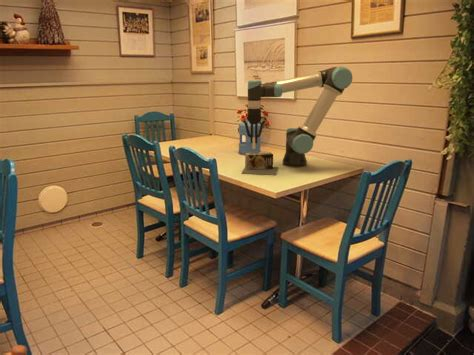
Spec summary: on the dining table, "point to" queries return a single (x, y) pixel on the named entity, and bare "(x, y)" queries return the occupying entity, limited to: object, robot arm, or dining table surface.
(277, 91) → the robot arm
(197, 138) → the dining table surface
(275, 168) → the mat
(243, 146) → the water jug
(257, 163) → the coffee box
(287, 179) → the dining table surface
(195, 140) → the dining table surface
